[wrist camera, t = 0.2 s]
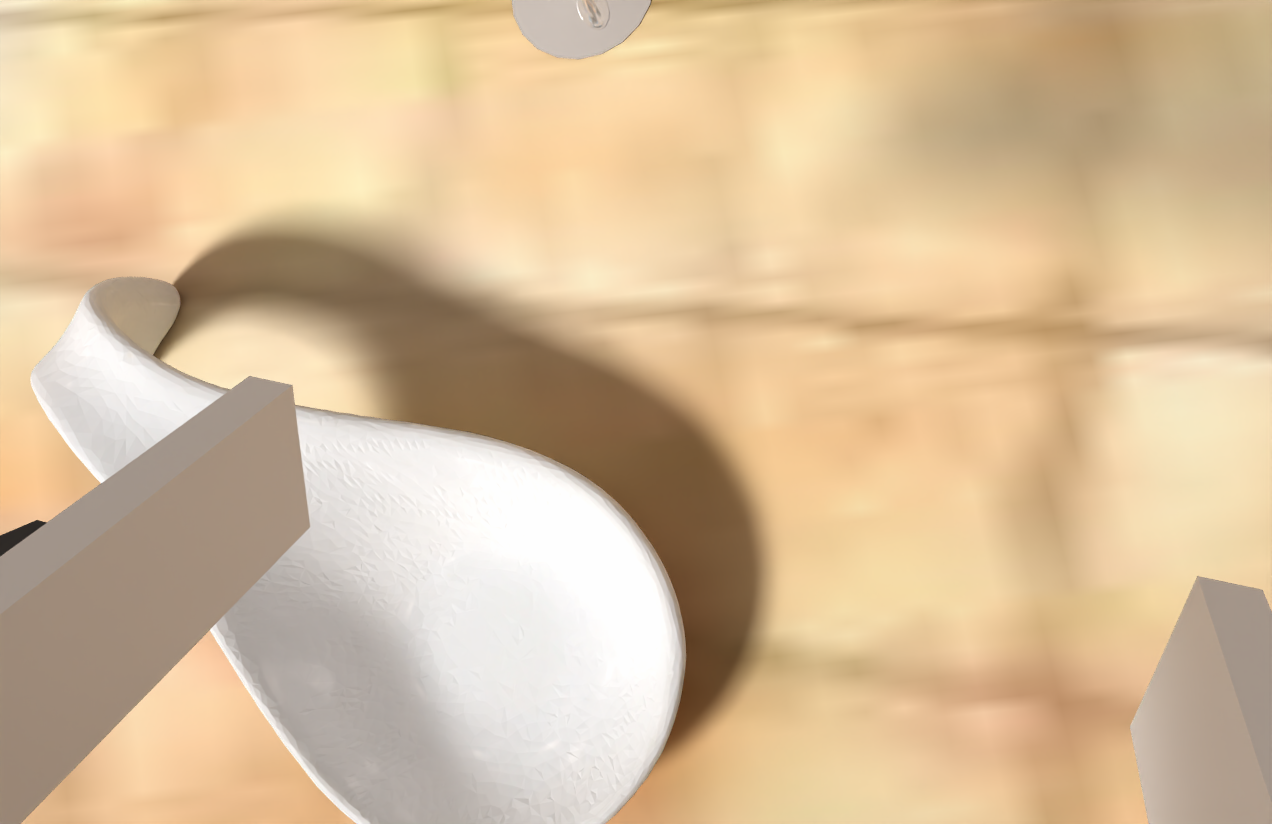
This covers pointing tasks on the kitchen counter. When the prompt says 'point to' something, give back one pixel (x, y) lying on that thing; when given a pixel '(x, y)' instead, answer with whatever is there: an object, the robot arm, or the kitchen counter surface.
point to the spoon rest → (415, 598)
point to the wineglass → (578, 24)
